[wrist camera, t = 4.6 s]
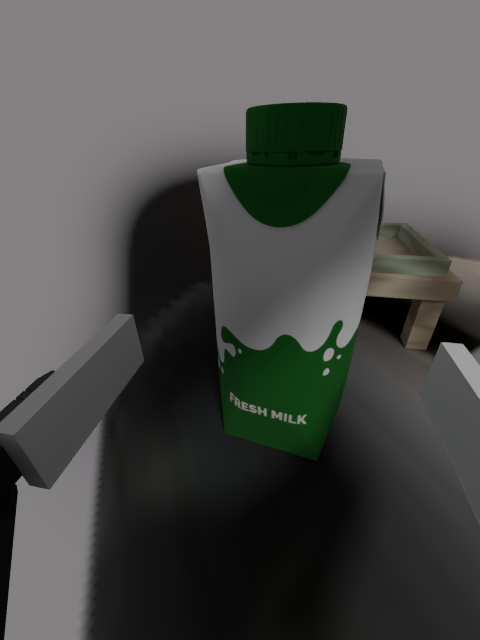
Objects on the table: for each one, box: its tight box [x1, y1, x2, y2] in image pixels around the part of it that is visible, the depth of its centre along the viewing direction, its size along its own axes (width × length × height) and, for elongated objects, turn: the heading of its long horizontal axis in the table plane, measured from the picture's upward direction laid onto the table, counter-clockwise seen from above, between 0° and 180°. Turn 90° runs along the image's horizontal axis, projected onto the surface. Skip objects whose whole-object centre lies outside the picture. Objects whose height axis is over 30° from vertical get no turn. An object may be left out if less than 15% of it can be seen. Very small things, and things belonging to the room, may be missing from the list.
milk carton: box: [197, 102, 386, 461], centre depth 19 cm, size 9×9×20 cm
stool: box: [366, 223, 463, 350], centre depth 35 cm, size 16×16×10 cm
